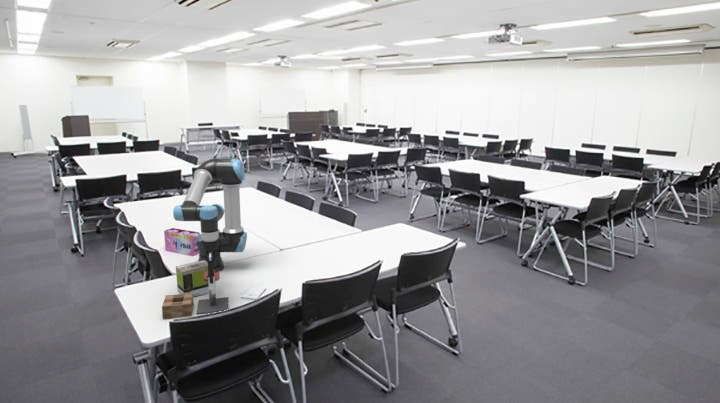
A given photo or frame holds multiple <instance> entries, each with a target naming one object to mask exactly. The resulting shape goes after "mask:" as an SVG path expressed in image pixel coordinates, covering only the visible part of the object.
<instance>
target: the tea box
mask: <svg viewBox="0 0 720 403" xmlns="http://www.w3.org/2000/svg"><path fill="white" fill-rule="evenodd" d="M206 271H208V262H206V261H205V260H202V261H198V260H197V261H194V262H190V263H185V264H179V265H177V266H176V265H175V275H176V287H177V292H178V294H187V293H193V298H194V297H197V296H201V295H204V294H209V283H208V282H206V281H204V273H205V272H206Z"/></svg>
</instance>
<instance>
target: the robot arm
mask: <svg viewBox="0 0 720 403" xmlns="http://www.w3.org/2000/svg"><path fill="white" fill-rule="evenodd" d="M245 174H246V173H245V166H244V162H243V161H242V160H241V159H236V158H211V159H207V160H205V161H203V162H201V164H200V165H199V166H197V168H196V169H195V171H194V173H193V180H192V182H191V185H190V186H189V189H188V190H187V193H186V195H185V198H184V200H183V202H182V204H179V205H177V204H176V205H175V206H174V208H173V210H172V214H173V219H174V220H175V221H178V222H200V232H199V235H198V245H199V254H198V260H197V261H202V260H205V261H206V262H208V276H207V277H208V283H209V290H213V289H215V283H216V282H217V281H215V276H214V270H217V271H219V272H221V271H223V270H224V269H225V263H224V261H223V258H222V256H221V253H243V252H244V251H245V248H246V244H247V240H248V238H247V237H248V233H247V232H246V231H245V229H244V228H243V227H242V222H241V198H240V197H241V193H240V186H241V185H242V184H243V181H245V178H246V175H245ZM212 181H219V184H220V185H221V186H222V188H223V206H222V205H221V204H220V203H219V204H218V203H213V204H212V205H200V204H201V202H202V200H203V197H204V195H205V193H206V190H207V187H208V185H209V184H211V182H212ZM223 216H224V228H223V229H222V231H220V229H219V221H220V220H221V219H222V218H223Z"/></svg>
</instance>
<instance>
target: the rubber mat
mask: <svg viewBox="0 0 720 403" xmlns="http://www.w3.org/2000/svg"><path fill="white" fill-rule="evenodd" d="M197 301H198V302H197V308H196V313H195V314H196V316H197V315H208V313H209V314H215V313H214V312H219V311H224V310H227V309H229V308H230V307H229V305H230V304H229V296H225V297H216V303H215V304H210V298H203V299H198V300H197ZM219 313H220V312H219Z"/></svg>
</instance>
